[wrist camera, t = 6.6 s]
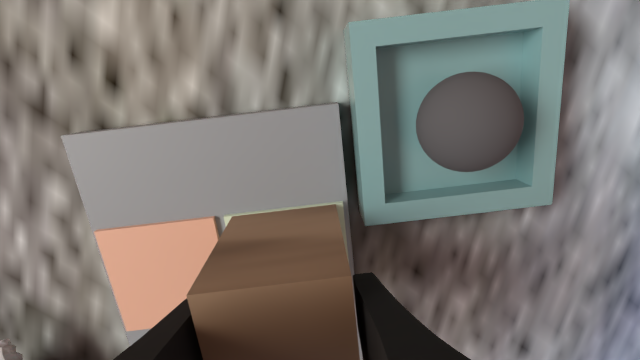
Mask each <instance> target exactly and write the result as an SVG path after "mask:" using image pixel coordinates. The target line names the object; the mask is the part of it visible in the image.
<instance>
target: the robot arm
mask: <svg viewBox="0 0 640 360" xmlns="http://www.w3.org/2000/svg"><path fill="white" fill-rule="evenodd" d="M353 284H354V294H355V305H356V315H357V325H358V333H359V338H360V344H361V350H362V356H363V360H471V359H469V358H467V357H466V356H464V355H463V354H461V353H460V352H458V351H457V350H455V349H454V348H452V347H451V346H450V345H448V344H447V343H446V342H444V341H443V340H441V339H440V338H439V337H438V336H436V335H435V334H434V333H433V332H431V331H430V330H429V329H428V328H426V327H425V326H424V325H423V324H422V323H421V322H420V321H418V320H417V319H416V318H415V317H414V316H413V315H412V314H411V313H410V312H409V311H408V310H406V309H405V308H404V307H403V306H402V305H401V304H400V303H399V302H398V301H397V300H396V299H395V298H394V297H393V295H392V294H391V293H390V292H389V291H388V290H387V289H386V288H385V287H384V286H383V284H382V283H381V282H380V281H379V280H378V278H377V277H376V276H375V275H374V274H373V273H364V274H355V275H353ZM114 360H203V357H202V353H201V350H200V346H199V342H198V338H197V334H196V331H195V327H194V323H193V319H192V315H191V311H190V308H189V304H188V300H187V298H186V299H185V300H184V301H183V302H181V303H180V304H179V305H178V306H177V307H176V308H175V309H173V310H172V311H171V312H170V313H169V314H168V315H166V316H165V317H164V318H163V319H162V320H161V321H160V322H158V323H157V324H156V325H155V326H154V327H153V328H151V329H150V330H149V331H148V332H147V333H146V334H144V335H143V336H142V337H141V338H140V339H138V340H137V341H136V342H135V343H133V344H132V345H131V346H130V347H128V348H127V349H126V350H125V351H123V352H122V353H121V354H120V355H118V356H117V357H116V358H115V359H114Z"/></svg>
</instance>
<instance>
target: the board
mask: <svg viewBox="0 0 640 360" xmlns="http://www.w3.org/2000/svg"><path fill="white" fill-rule="evenodd" d="M61 138H62V141H63V144H64V147H65V150H66V153H67V156H68V159H69V162H70V165H71V168H72V171H73V174H74V177H75V180H76V183H77V187H78V190H79V193H80V196H81V199H82V202H83V205H84V208H85V211H86V214H87V217H88V220H89V223H90V226H91V229H92V232H93V235H94V238H95V241H96V244H97V247H98V250H99V253H100V256H101V259H102V263H103V266H104V269H105V272H106V275H107V278H108V281H109V284H110V287H111V290H112V293H113V296H114V299H115V302H116V305H117V308H118V311H119V314H120V317H121V320H122V323H123V326H124V329H125V332H126V335H127V339H128V342H129V345H130V346H131V345H132V344H133V343H135V342H136V341H137V340H138V339H140V338H141V337H142V336H143V335H144V334H146V333H147V332H148V331H149V330H150V329H151V328H153V327H154V326H155V325H156V324H157V323H158V322H160V321H161V320H162V319H163V318H164V317H165V316H166V315H168V314H169V313H170V312H171V311H172V310H173V309H175V308H176V307H177V306H178V305H179V304H180V303H181V302H183V301H184V300H185V299H186V298H187V296H186V295H187V293H188V292H189V290H190V288H191V286H192V285H193V283H194V281H195V280H196V278H197V276H198V274H199V273H200V271H201V269H202V267H203V266H204V264H205V262H206V261H207V259H208V257H209V255H210V254H211V252H212V250H213V248H214V247H215V245H216V243H217V242H218V240H219V238H220V236H221V235H222V233H223V231H224V229H225V228H226V226H227V224H228V223H229V221H230V219H231V217H232V216H240V215H248V214H257V213H265V212H273V211H282V210H290V209H299V208H307V207H315V206H324V205H332V204H336V208H337V212H338V217H339V221H340V226H341V230H342V235H343V239H344V244H345V249H346V253H347V258H348V262H349V267H350V271H351V276H352V286H353V296H354V306H355V315H356V305H355V294H354V284H353V275H355V274H354V263H353V253H352V242H351V232H350V221H349V211H348V200H347V189H346V179H345V168H344V158H343V147H342V137H341V126H340V116H339V105H338V103H337V102H335V103H327V104H318V105H310V106H301V107H293V108H284V109H275V110H267V111H258V112H250V113H241V114H233V115H224V116H216V117H207V118H198V119H190V120H181V121H173V122H164V123H156V124H147V125H139V126H130V127H121V128H113V129H104V130H96V131H87V132H79V133H73V134H68V135H63V136H61ZM356 325H357V315H356ZM357 335H358V345H359V355H360V360H363V358H362V350H361V344H360V338H359V333H358V325H357Z"/></svg>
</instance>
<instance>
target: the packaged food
mask: <svg viewBox="0 0 640 360" xmlns="http://www.w3.org/2000/svg"><path fill="white" fill-rule="evenodd" d="M0 360H22V354H20V353H17V352H16V346H14V345H11V342H10V340H9V339H4V340H1V341H0Z"/></svg>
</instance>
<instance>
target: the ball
mask: <svg viewBox="0 0 640 360" xmlns="http://www.w3.org/2000/svg"><path fill="white" fill-rule="evenodd" d="M523 126H524V111H523V107H522V103H521V101H520V99H519V97H518V95H517V93H516V92H515V90H514V89H513V88H512V87H511V86H510V85H509V84H508V83H506V82H505V81H504V80H502V79H500V78H499V77H496V76H494V75H491V74H488V73H484V72H464V73H459V74H455V75H452V76H450V77H448V78H446V79H444V80H442V81H441V82H439V83H438V84H437V85H435V86H434V87H433V88H432V89H431V90H430V91H429V92H428V93H427V95H426V96H425V97H424V99H423V101H422V103H421V105H420V107H419V110H418V113H417V118H416V133H417V137H418V140H419V143H420V145H421V147H422V149H423V151H424V152H425V153H426V154H427V156H428V157H429V158H430V159H432V160H433V161H434V162H435V163H437V164H438V165H440V166H442V167H444V168H447V169H449V170H453V171H458V172H474V171H480V170H483V169H487V168H489V167H491V166H493V165H495V164H497V163H499V162H500V161H502V160H503V159H504V158H505V157H507V156H508V155H509V154H510V152H511V151H512V150H513V149H514V147H515V146H516V144H517V143H518V141H519V139H520V136H521V134H522V130H523Z"/></svg>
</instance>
